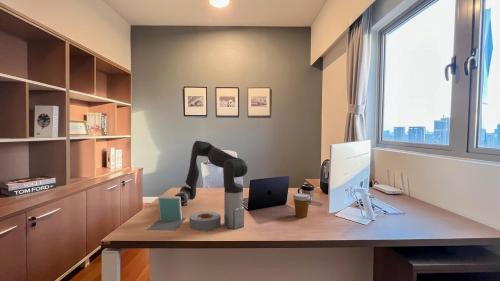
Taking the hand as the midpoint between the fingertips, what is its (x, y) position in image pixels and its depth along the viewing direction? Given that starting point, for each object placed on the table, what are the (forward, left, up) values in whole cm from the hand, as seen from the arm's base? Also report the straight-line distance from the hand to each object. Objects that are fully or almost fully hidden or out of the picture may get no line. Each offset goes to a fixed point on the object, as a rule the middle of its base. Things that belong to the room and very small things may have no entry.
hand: (171, 207), depth 135 cm
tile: (0, 0, -7) cm, 7 cm away
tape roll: (-18, -9, -8) cm, 21 cm away
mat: (-4, +4, -7) cm, 9 cm away
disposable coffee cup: (-42, -57, -7) cm, 71 cm away
